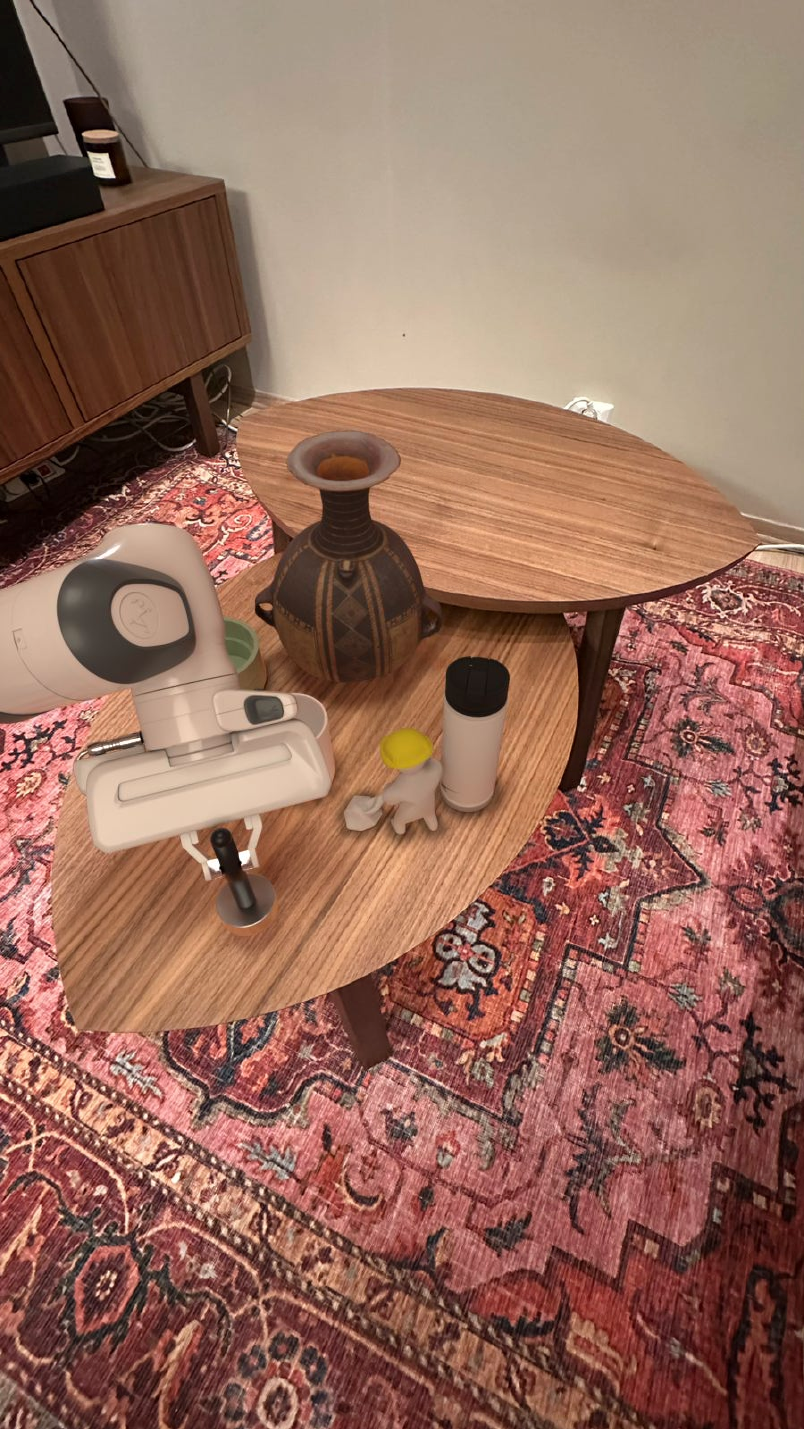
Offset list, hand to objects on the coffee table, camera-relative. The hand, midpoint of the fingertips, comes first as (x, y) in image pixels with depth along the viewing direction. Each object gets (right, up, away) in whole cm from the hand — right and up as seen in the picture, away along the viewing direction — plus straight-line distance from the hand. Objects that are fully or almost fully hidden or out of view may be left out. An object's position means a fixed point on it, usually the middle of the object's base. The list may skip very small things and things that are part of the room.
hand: (233, 872), depth 60 cm
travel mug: (+22, +5, +20) cm, 30 cm away
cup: (+1, +5, +21) cm, 22 cm away
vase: (+8, +21, +35) cm, 42 cm away
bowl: (-10, +18, +32) cm, 38 cm away
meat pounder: (0, -5, +7) cm, 8 cm away
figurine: (+14, +2, +18) cm, 23 cm away
